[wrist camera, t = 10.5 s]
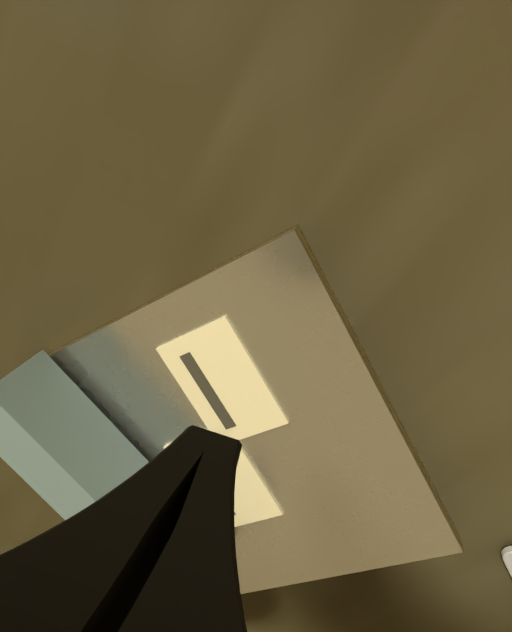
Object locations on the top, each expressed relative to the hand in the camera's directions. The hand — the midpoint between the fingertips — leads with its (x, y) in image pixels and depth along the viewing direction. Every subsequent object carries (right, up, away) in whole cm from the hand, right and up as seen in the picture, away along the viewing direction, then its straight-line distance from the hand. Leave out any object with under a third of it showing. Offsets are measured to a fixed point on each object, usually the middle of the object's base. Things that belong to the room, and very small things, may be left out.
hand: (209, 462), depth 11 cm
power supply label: (0, 0, +10) cm, 10 cm away
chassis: (+1, -3, +13) cm, 13 cm away
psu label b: (-1, -5, +13) cm, 14 cm away
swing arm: (-5, -5, +13) cm, 15 cm away
